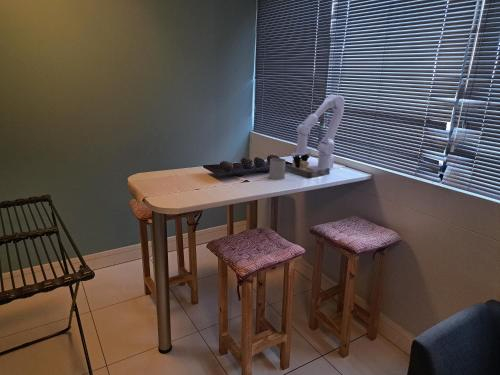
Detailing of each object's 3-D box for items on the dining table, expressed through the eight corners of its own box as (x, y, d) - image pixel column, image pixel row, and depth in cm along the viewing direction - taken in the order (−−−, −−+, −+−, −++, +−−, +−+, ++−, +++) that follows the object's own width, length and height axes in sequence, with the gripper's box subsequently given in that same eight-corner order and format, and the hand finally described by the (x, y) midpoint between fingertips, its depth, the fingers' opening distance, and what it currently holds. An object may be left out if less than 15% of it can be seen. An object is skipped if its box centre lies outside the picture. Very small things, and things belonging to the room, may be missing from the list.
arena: (300, 166, 215) (300, 160, 214) (329, 175, 198) (329, 168, 197) (280, 170, 205) (280, 163, 204) (309, 179, 188) (309, 172, 187)
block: (297, 166, 211) (297, 158, 210) (308, 170, 204) (308, 161, 203) (292, 167, 208) (292, 159, 207) (302, 171, 202) (303, 162, 200)
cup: (284, 180, 186) (286, 162, 182) (269, 179, 186) (270, 161, 183) (283, 175, 194) (284, 158, 190) (269, 175, 194) (270, 157, 191)
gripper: (305, 142, 209) (303, 164, 213) (288, 144, 201) (286, 167, 205) (314, 144, 204) (312, 166, 208) (297, 147, 195) (295, 170, 200)
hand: (300, 167), depth 206 cm, fingers closed on block, 4 cm apart
